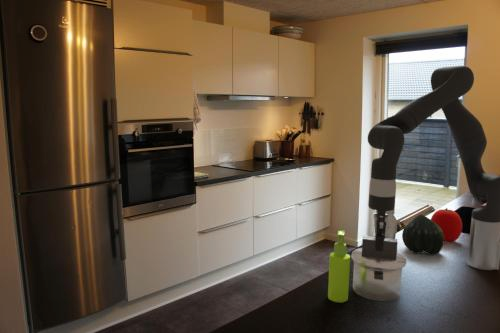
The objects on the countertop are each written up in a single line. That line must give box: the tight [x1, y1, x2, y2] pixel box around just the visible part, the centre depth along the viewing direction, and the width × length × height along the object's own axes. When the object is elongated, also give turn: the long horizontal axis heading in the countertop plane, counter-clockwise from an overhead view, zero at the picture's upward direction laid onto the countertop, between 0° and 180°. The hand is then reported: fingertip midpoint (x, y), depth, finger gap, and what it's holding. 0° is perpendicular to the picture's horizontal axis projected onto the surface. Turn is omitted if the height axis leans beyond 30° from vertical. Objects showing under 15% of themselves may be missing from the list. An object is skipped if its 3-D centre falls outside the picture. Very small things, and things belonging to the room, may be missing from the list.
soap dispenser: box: [327, 229, 351, 303], centre depth 122 cm, size 6×7×20 cm
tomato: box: [430, 207, 463, 243], centre depth 174 cm, size 13×11×14 cm
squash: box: [401, 213, 445, 256], centre depth 162 cm, size 14×15×15 cm
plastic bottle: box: [382, 209, 398, 239], centre depth 150 cm, size 6×7×20 cm
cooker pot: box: [352, 261, 403, 302], centre depth 127 cm, size 14×21×10 cm
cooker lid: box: [350, 235, 408, 270], centre depth 126 cm, size 16×16×6 cm
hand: (378, 248), depth 126 cm, fingers open, 3 cm apart
